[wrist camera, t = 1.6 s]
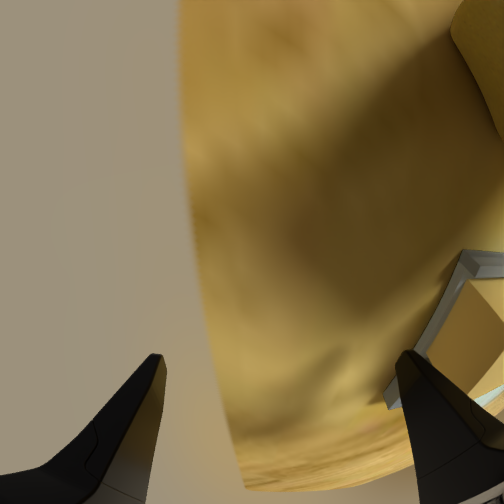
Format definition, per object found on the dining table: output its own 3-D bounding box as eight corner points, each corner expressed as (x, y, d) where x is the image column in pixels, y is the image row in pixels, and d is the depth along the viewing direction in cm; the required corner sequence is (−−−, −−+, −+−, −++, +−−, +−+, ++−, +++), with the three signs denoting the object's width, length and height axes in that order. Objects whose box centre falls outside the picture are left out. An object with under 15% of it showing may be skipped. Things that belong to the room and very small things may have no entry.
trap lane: (557, 257, 10) (566, 267, 9) (499, 358, 16) (506, 367, 14) (462, 249, 9) (480, 265, 8) (382, 393, 15) (388, 410, 14)
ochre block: (524, 276, 10) (559, 315, 6) (491, 336, 12) (516, 376, 9) (466, 278, 10) (513, 336, 6) (425, 352, 12) (453, 408, 9)
